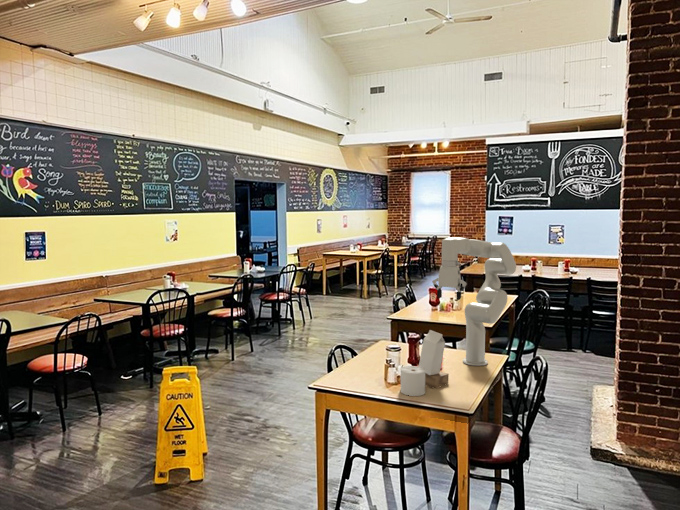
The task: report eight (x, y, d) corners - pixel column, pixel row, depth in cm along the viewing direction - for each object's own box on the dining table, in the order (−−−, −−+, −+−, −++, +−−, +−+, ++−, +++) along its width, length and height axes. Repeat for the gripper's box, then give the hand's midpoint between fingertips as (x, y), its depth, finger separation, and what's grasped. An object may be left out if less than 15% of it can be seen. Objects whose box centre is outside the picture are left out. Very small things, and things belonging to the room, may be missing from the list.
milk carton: (430, 375, 222) (437, 335, 220) (417, 370, 227) (425, 330, 225) (439, 373, 227) (447, 333, 225) (427, 368, 232) (434, 329, 230)
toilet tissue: (420, 398, 209) (420, 375, 208) (394, 393, 215) (394, 370, 214) (428, 390, 218) (428, 368, 218) (403, 386, 224) (403, 364, 223)
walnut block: (430, 379, 235) (430, 368, 234) (448, 384, 227) (448, 373, 227) (417, 383, 228) (417, 373, 228) (435, 389, 221) (435, 378, 220)
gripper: (469, 264, 239) (468, 299, 240) (436, 262, 249) (435, 296, 250) (463, 265, 233) (463, 301, 234) (429, 263, 243) (429, 298, 244)
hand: (448, 298), depth 242 cm, fingers open, 9 cm apart
